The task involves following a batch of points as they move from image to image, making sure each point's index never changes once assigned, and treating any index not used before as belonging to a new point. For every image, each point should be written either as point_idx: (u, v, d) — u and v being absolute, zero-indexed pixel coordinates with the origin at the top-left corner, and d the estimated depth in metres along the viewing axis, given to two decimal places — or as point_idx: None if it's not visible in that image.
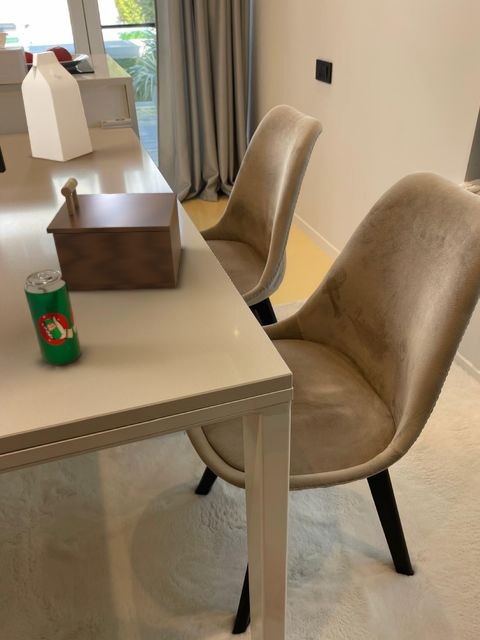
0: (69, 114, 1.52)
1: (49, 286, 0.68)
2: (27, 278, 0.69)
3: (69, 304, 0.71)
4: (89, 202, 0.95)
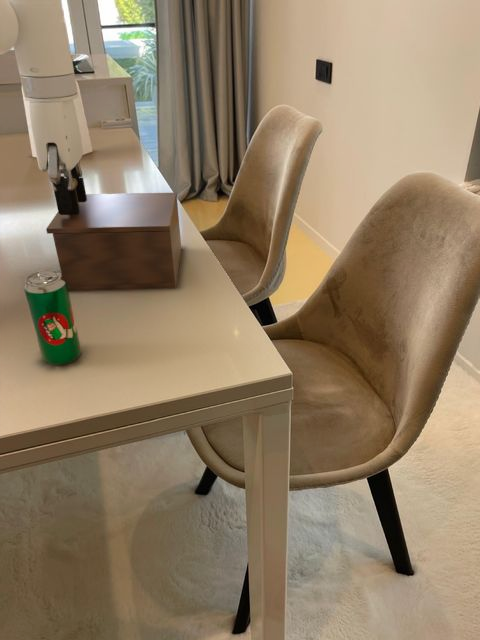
0: None
1: (49, 286, 0.68)
2: (27, 278, 0.69)
3: (69, 304, 0.71)
4: (89, 202, 0.95)
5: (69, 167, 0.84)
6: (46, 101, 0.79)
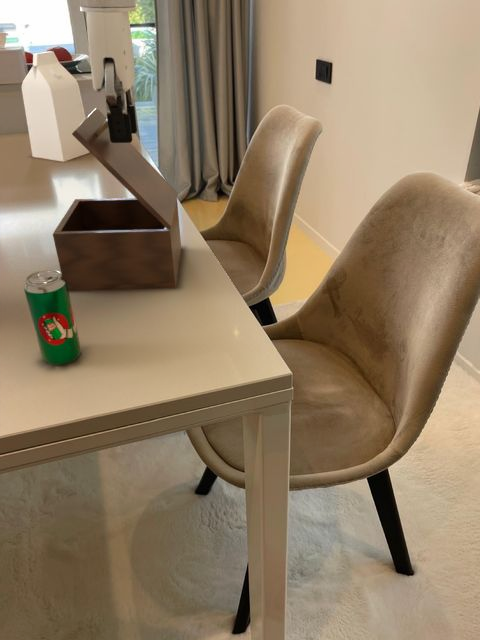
0: (69, 114, 1.52)
1: (49, 286, 0.68)
2: (27, 278, 0.69)
3: (69, 304, 0.71)
4: None
5: (126, 87, 0.78)
6: (105, 11, 0.74)
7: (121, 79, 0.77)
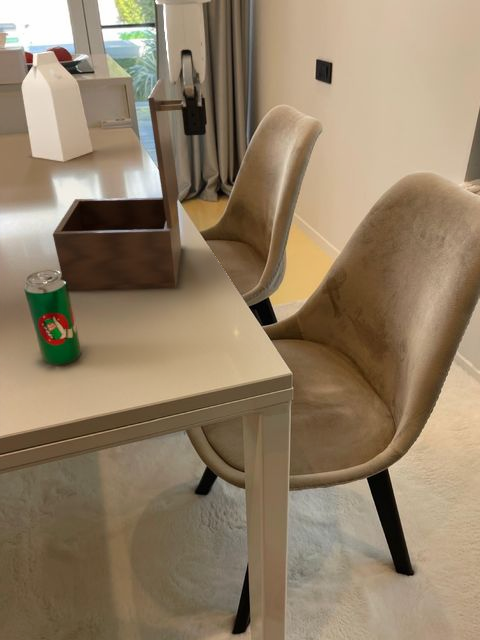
0: (69, 114, 1.52)
1: (49, 286, 0.68)
2: (27, 278, 0.69)
3: (69, 304, 0.71)
4: (165, 113, 0.88)
5: (202, 78, 0.78)
6: (183, 2, 0.74)
7: (198, 71, 0.77)
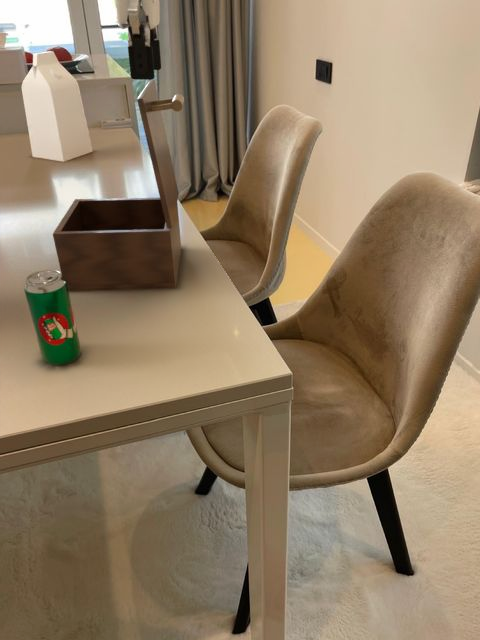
0: (69, 114, 1.52)
1: (49, 286, 0.68)
2: (27, 278, 0.69)
3: (69, 304, 0.71)
4: (158, 114, 0.88)
5: (152, 22, 0.74)
6: None
7: (147, 13, 0.73)
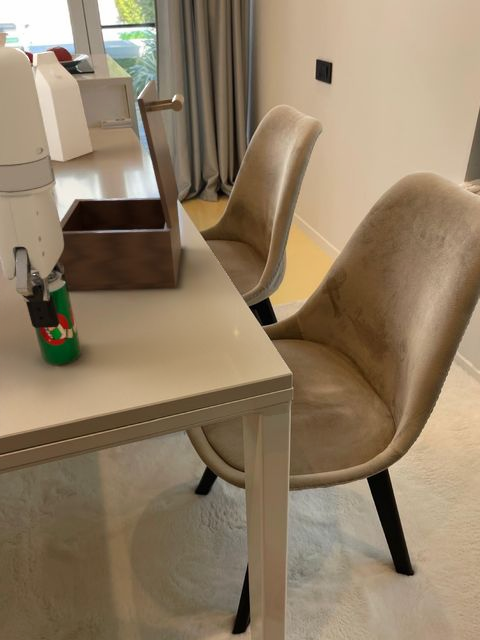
0: (69, 114, 1.52)
1: (49, 286, 0.68)
2: None
3: (69, 304, 0.71)
4: (158, 114, 0.88)
5: (44, 275, 0.64)
6: (12, 195, 0.60)
7: (37, 268, 0.63)
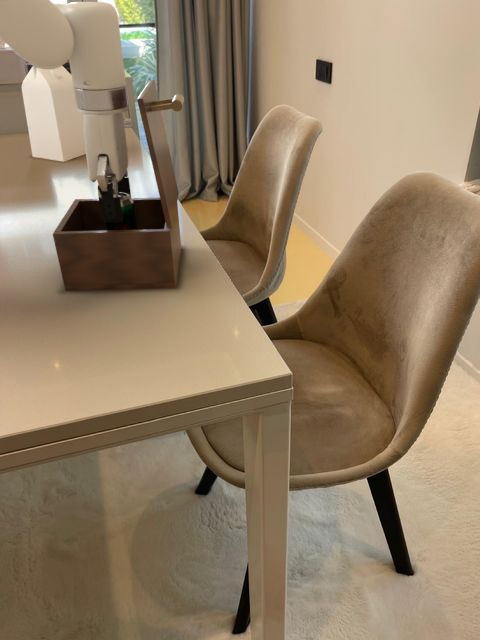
0: (69, 114, 1.52)
1: (122, 202, 0.90)
2: None
3: (135, 219, 0.93)
4: (158, 114, 0.88)
5: (119, 178, 0.85)
6: (99, 113, 0.81)
7: (115, 172, 0.84)
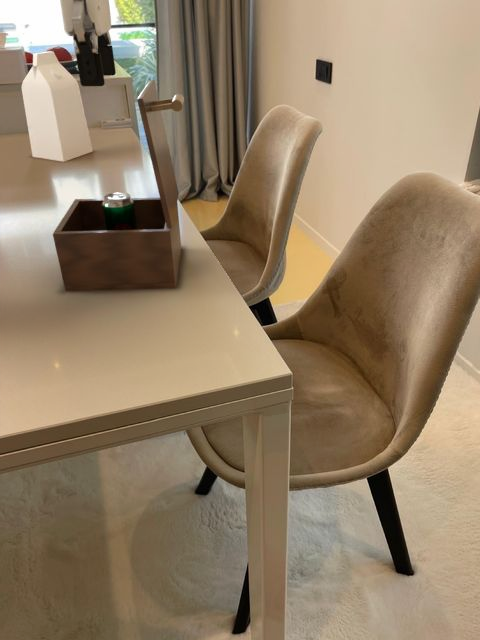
0: (69, 114, 1.52)
1: (122, 202, 0.90)
2: (104, 197, 0.91)
3: (135, 219, 0.93)
4: (158, 114, 0.88)
5: (99, 29, 0.74)
6: None
7: (93, 20, 0.73)
